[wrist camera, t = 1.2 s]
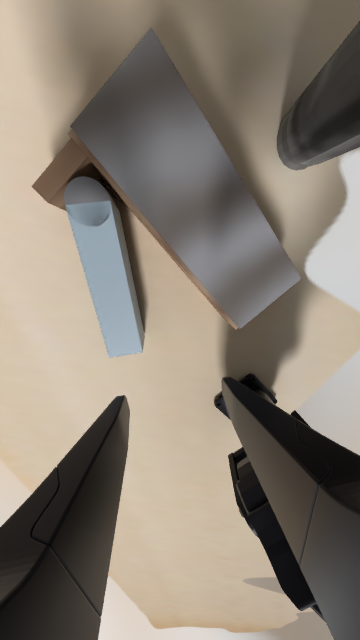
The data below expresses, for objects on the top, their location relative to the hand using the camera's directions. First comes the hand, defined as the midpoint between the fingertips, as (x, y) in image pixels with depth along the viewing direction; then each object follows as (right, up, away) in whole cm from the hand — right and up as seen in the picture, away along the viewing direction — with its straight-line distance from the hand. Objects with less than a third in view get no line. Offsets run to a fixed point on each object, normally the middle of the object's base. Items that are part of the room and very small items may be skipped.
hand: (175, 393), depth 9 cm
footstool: (0, +11, +9) cm, 14 cm away
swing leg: (-6, +8, +9) cm, 13 cm away
